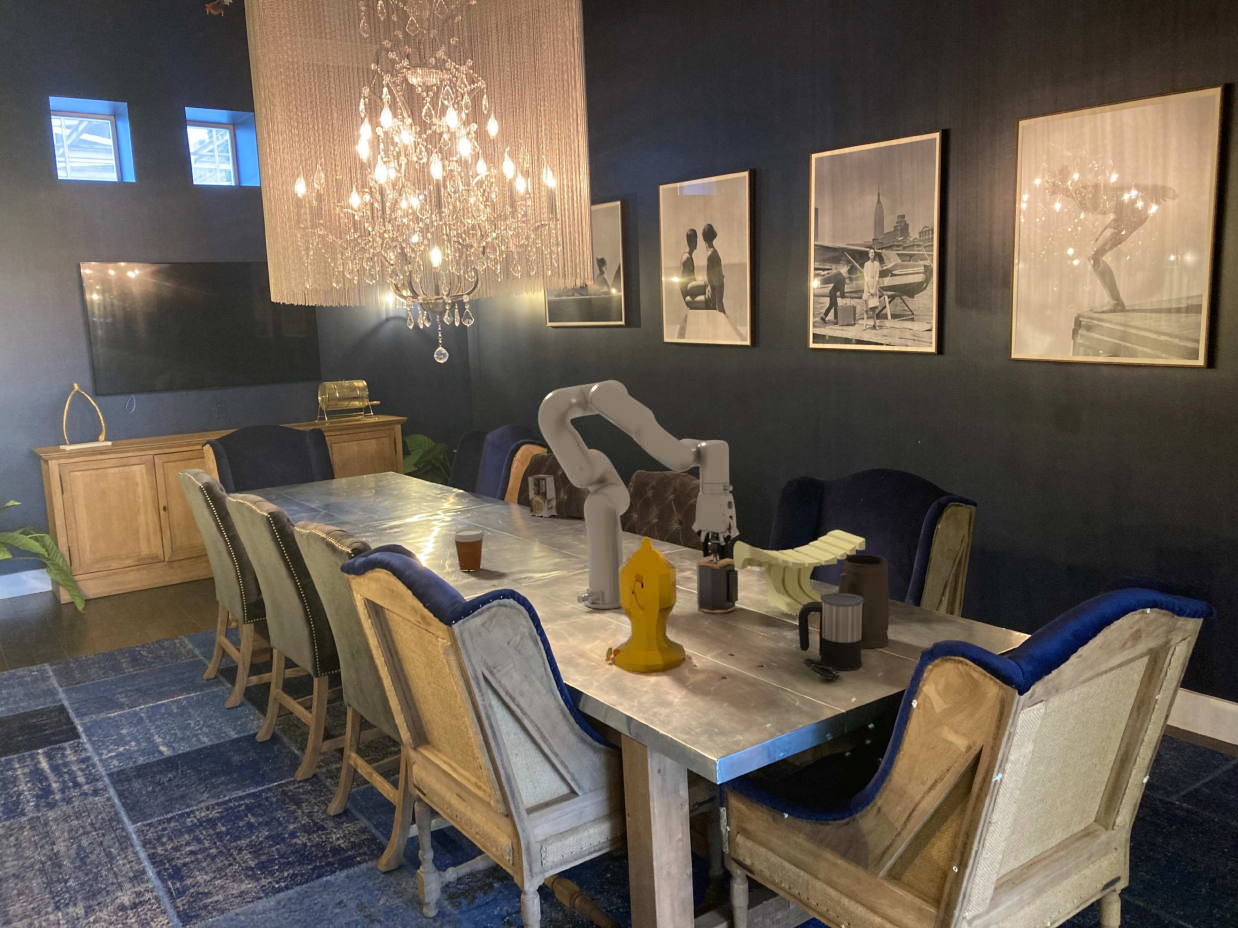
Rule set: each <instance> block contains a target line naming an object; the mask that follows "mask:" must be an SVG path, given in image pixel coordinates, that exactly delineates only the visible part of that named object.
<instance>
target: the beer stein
mask: <svg viewBox="0 0 1238 928" xmlns="http://www.w3.org/2000/svg"><path fill="white" fill-rule="evenodd" d="M887 560H888V559H886V558H885V557H882V556H879V555H873V554H853V555H849V556H846V558H845V559H843V565H842V568H843V572H841V573H840V574H839V585H838V590H837V591H838V592H837V593H848V594H854V595H858V596H861V597H862V598H863V599H864V600H865V601H864V603H863V605H862V632H861V649H879V648H883V646H884V647H885V646H887V645H889V643H890V639H889V635H888V631H889V625H890V624H889V623H890V622H889V620H890V615H889V614H890V613H889V610H890V604H889V603H890V602H889V600H890V591H889V584H888V578H889V577H888V576H889V575H888V570H889V565H888V561H887Z"/></svg>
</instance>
